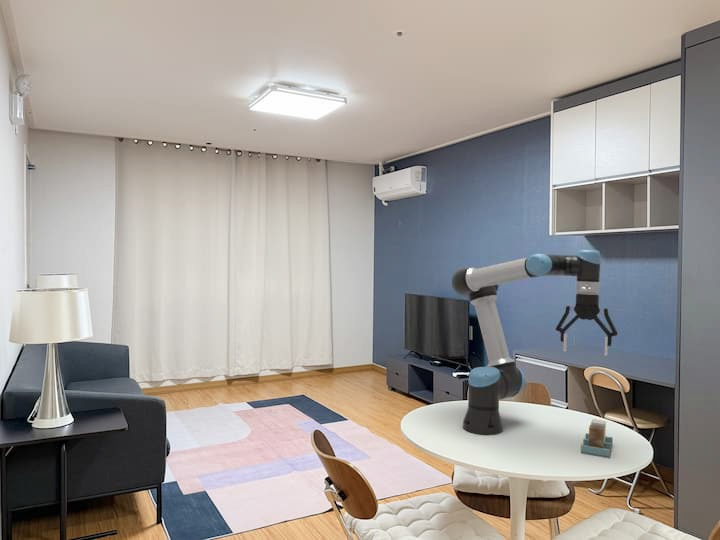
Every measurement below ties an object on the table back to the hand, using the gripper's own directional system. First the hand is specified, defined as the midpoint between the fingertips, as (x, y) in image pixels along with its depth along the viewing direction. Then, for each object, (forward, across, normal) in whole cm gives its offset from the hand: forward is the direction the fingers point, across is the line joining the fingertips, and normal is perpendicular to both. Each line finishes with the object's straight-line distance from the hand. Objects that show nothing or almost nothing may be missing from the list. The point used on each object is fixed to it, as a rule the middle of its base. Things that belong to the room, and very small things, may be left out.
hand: (585, 353), depth 195 cm
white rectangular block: (+32, +5, +3) cm, 33 cm away
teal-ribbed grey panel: (+33, +5, 0) cm, 34 cm away
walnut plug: (+32, +5, -4) cm, 33 cm away
